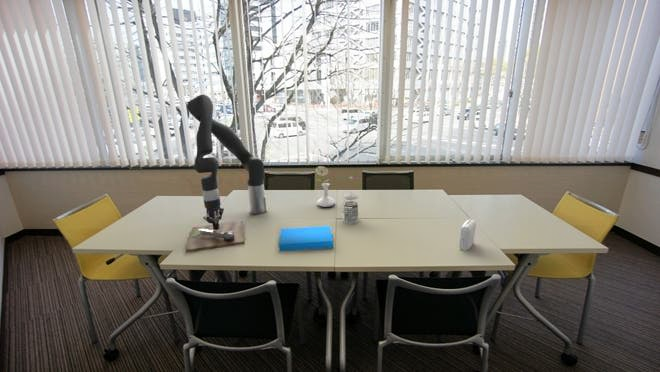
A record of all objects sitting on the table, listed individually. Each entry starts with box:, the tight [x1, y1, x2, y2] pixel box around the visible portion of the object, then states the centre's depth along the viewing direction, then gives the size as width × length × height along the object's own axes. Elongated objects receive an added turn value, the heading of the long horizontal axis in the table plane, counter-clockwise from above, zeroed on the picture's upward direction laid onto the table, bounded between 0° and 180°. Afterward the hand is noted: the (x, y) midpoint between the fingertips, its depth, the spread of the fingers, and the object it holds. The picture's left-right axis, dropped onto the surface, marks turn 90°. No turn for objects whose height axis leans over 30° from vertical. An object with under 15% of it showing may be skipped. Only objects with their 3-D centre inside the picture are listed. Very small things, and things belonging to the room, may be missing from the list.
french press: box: [341, 176, 361, 224], centre depth 168 cm, size 10×12×25 cm
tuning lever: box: [198, 229, 235, 242], centre depth 151 cm, size 20×5×3 cm, turn 71°
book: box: [278, 225, 334, 252], centre depth 149 cm, size 17×4×25 cm
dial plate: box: [185, 220, 246, 254], centre depth 155 cm, size 26×25×2 cm
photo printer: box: [458, 219, 477, 251], centre depth 140 cm, size 10×4×12 cm, turn 140°
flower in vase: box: [315, 165, 336, 208], centre depth 190 cm, size 13×11×25 cm
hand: (216, 229), depth 157 cm, fingers closed
